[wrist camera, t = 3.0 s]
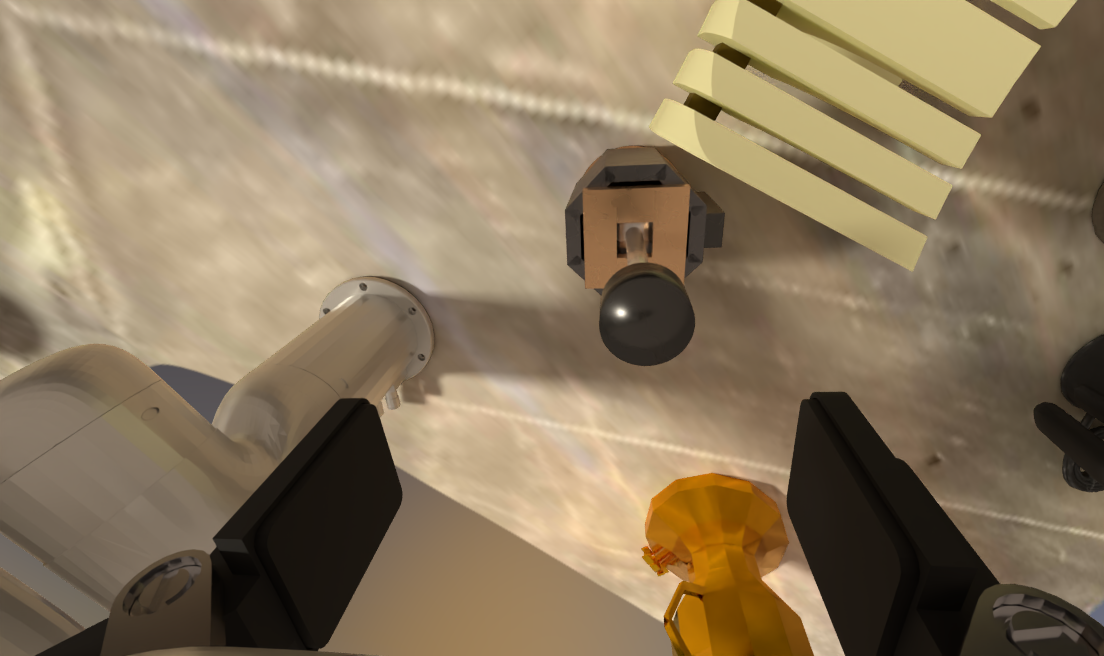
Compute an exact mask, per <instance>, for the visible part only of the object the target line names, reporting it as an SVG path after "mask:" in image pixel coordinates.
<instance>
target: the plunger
mask: <svg viewBox="0 0 1104 656" xmlns="http://www.w3.org/2000/svg"><path fill="white" fill-rule="evenodd" d="M651 249H652V222H642V223H617V254H627V265H628V266H626V267H624V268H622V269H620V270H619V271H617V272H616V273H615V274H614V275H613V276H612V277H611V278H610V279H609V280H608V282H607V283H606V285H605V287H604V289H603V292H602V295H601V305H600V320H599V329H600V334H601V337H602V340H603V342H604V344H605V345H606V347H607V348H608V349H609V351H610V352H611V353H612V354H614V355H615V356H616V357H617V358H619V359H621V360H623V361H625V362H627V363H630V364H634V365H640V366H652V365H658V364H661V363H664V362H667V361H669V360H671V359H673V358H674V357H676V356H677V355H679V354H680V353H681V352H682V351H683V350H684V349H685V348H686V346H687V345H688V343H689V342H690V340H691V338H692V336H693V332H694V327H695V317H694V312H693V309H692V306H691V303H690V300H689V298H688V295H687V292H686V289H685V287H684V285H683V283H682V281H681V280H680V278H679V277H678V276H677V275H676V274H675V273H674V272H673V271H672V270H670V269H668V268H667V267H664V266H662V265H659V264H656V263H649V262H648V257H647V253H651Z"/></svg>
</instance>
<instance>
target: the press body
mask: <svg viewBox="0 0 1104 656" xmlns="http://www.w3.org/2000/svg"><path fill="white" fill-rule="evenodd" d="M724 216H725V213H724V212H723V211H722V209H721V208H720V207H719V206H718V205H717V204H716V203H715V202H714V201H713V200H712V199H711V198H710V197H709V195H708V194H707V193H706V192H695V191H694V189H693V188H692V187H691V186H690V185H689V183H688V182H687V181H686V180H685V179H684V178H683V177H682V176H681V175H680V173H679V172H678V171H677V170H676V169H675V167H674V166H673V165H672V164H671V162H670V161H669V160H668V159H667V158H665V157H664V156H663V155H661V154H660V153H659V152H658V151H657V150H656V149H655V148H654V147H642V146H623V147H619V148H615V149H607V150H606V151H605V152H604V153H603V155H601V156H600V157H599V158H597V159H596V160H595V161H594V162H593V163H592V164H591V165H590V167H589V168H588V169H587V170H586V172H585V174H584V175H583V177H582V178H581V179H580V180H579V181H578V182H577V183H576V186H575V188H574V190H573V193H572V195H571V197H570V200H569V202H568V204H567V207H566V209H565V221H566V243H567V265H568V266H569V267H570V268H572V269H573V270H574V271H575V272H576V273H577V274H578V275H579V276H580V277H582V278H583V279H584V280H585V289H589V288H594V289H595V290H596V291H597V292H598V293H599V294H600V295H602V292H603V289H604V287H605V285H606V283H607V282H608V280H609V279H610V278H611V277H612V276H613V275H614V274H615V273H616V272H617V271H619V270H620V269H622V268H624V267H626V266H628V265H627V254H617V223H642V222H652V249H651V253H647V257H648V262H649V263H656V264H659V265H662V266H664V267H667V268H668V269H670V270H672V271H673V272H674V273H675V274H676V275H677V276H678V277H679V278H680V280H681V281H682V283H683V285H684V278H685V277H686V276H688V275H689V274H690V273H691V272H692V271H693V270H694V269H695V268H697V267H698V266H699V265H700V264H701V263H702V261H703V249H704V248H715V247H722V237H723V227H724Z"/></svg>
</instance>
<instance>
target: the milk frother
mask: <svg viewBox="0 0 1104 656" xmlns="http://www.w3.org/2000/svg"><path fill="white" fill-rule="evenodd" d="M1061 391H1062V393H1063V395H1064V397H1065V398H1066V399H1067V400H1068V401H1069V402H1070V403H1071V404H1073V405H1075V406H1076V407H1078V408H1081V409H1082V410H1084V411H1085V412H1087V413H1086V414H1085V416H1084V417H1083V419H1082V421H1081V422H1078V421H1077V420H1076V419H1074V418H1073V417H1072V416H1071V415H1069V414H1068V413H1067V412H1065V411H1064V410H1063V409H1061V408H1060V407H1058V406H1057V405H1055V404H1053V403H1048V402H1043V403H1041V404H1039V405H1037V406H1036V407H1035V408H1034V419H1035V423H1036V426H1037V427H1038V429H1039V430H1040V431H1041V432H1042V433H1043V434H1045V435H1046V436H1047V437H1048V438H1049V439H1050V440H1051V441H1052V442H1053V443H1054V444H1056V445H1057V446H1058V447H1059V448H1060V449H1061V450H1062V451H1063V452H1064V453H1065V455H1064V459H1063V467H1062V472H1063V477H1064V479H1065V481H1066V482H1067V483H1068V485H1069V486H1071V487H1073V488H1076V489H1078V490H1081V491H1086V492H1098V491H1103V490H1104V441H1103V439H1104V426H1100V427H1096V428H1092V429H1090V430H1089V428H1090V426H1091V424H1092V423H1093V421H1094V419H1095V418H1096V419H1098V420H1099V421H1101V422H1103V423H1104V335H1101V336H1099V337H1098V338H1096V339H1094V340H1092V341H1091V342H1089V343H1088V344H1086V345H1085V346H1084V347H1082V348H1081V349H1080V350H1079V351H1078V352H1077V353H1075V355H1074V356H1073V357H1072V358H1071V359H1070V361H1069V362H1068V364H1067V365H1066V367H1065V369H1064V371H1063V374H1062V377H1061ZM1080 467H1081V468H1082V469H1083V470H1084V472H1081V471H1080Z"/></svg>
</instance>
